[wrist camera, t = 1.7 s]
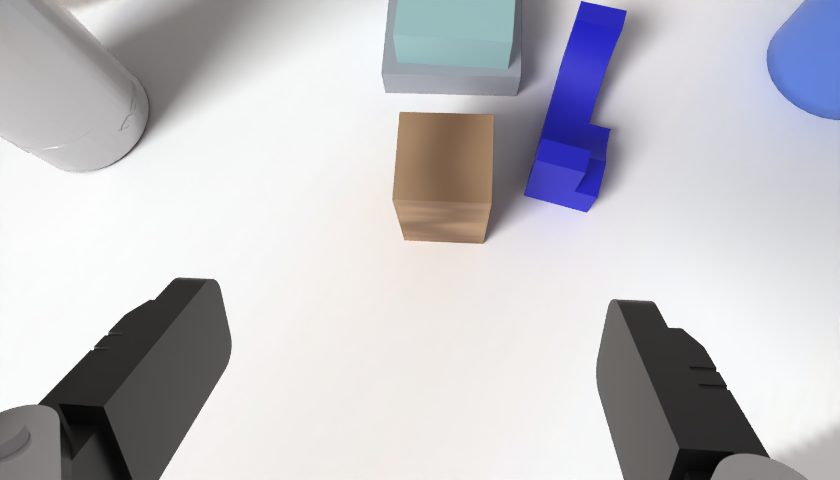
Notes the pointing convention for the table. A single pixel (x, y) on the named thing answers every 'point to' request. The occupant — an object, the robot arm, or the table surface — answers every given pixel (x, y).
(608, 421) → the robot arm
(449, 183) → the walnut block
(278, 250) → the table surface
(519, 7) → the slate base slab
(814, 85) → the water bottle
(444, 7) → the teal top slab
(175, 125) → the table surface
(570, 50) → the cable clip
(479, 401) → the table surface
